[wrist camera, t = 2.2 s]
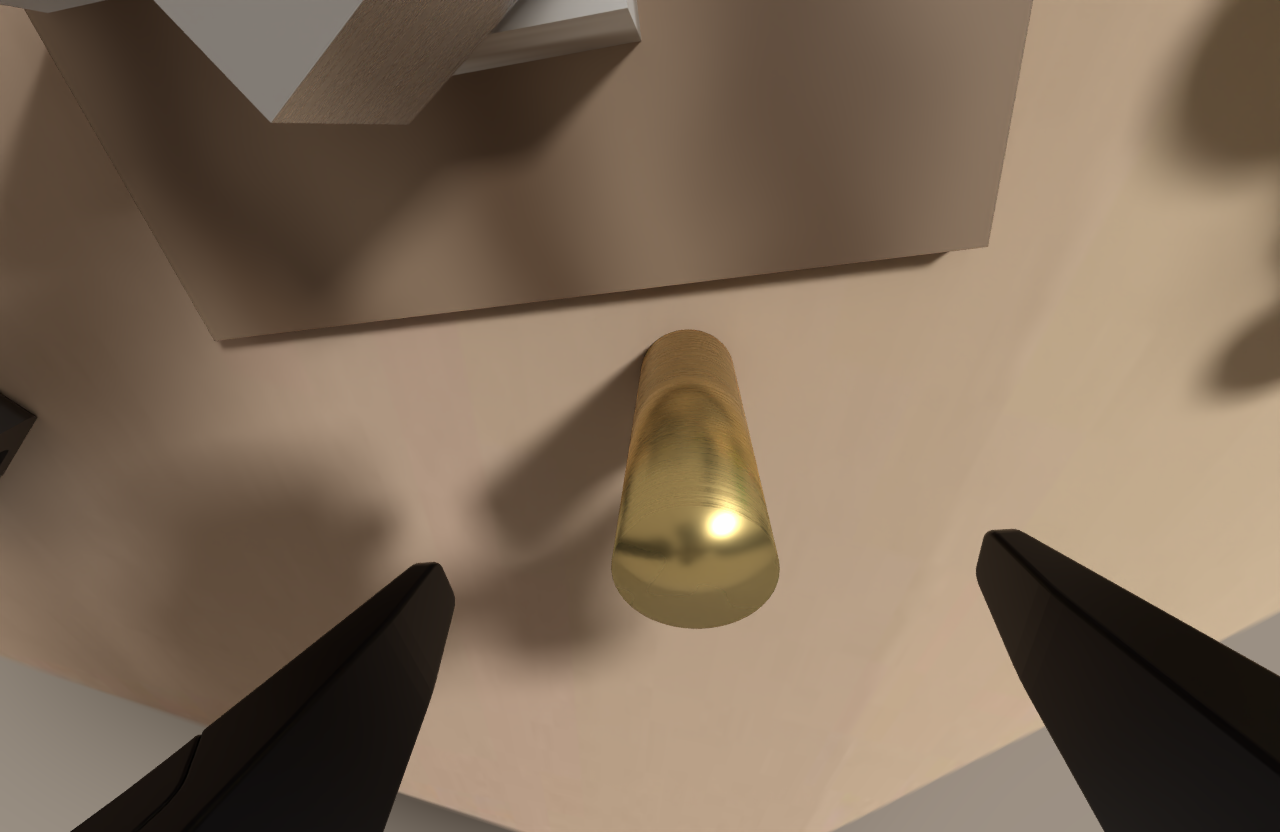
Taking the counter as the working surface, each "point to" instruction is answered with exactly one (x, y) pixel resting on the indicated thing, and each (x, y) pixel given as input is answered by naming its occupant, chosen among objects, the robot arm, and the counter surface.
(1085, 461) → the counter surface
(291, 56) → the hinge leaf
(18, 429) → the phone stand
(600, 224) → the hinge board
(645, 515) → the hinge pin
